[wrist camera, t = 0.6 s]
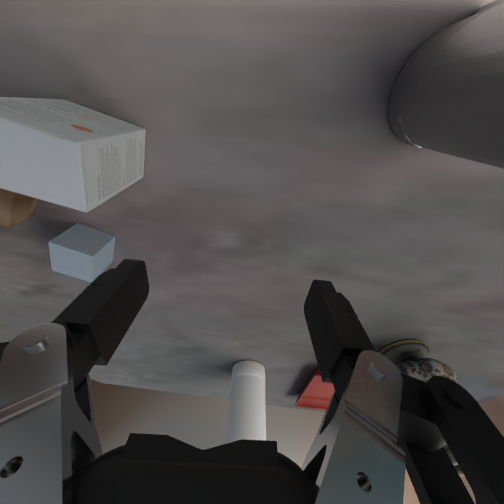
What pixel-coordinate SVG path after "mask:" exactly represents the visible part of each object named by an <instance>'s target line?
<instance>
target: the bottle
mask: <svg viewBox="0 0 504 504" xmlns="http://www.w3.org/2000/svg"><path fill="white" fill-rule="evenodd" d="M265 410H266V408H265V369H264V366H263V365H262V364H260V363H258V362H256V361H251V360H245V361H240V362H237V363H236V364H235V365H234V366H233V370H232V376H231V390H230V400H229V410H228V420H227V431H226V440H225V444H227V443H231V442H234V441H238V440H241V439H246V440H265V441H266V414H265V413H266V411H265Z"/></svg>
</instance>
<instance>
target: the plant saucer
mask: <svg viewBox="0 0 504 504" xmlns="http://www.w3.org/2000/svg"><path fill="white" fill-rule="evenodd" d="M334 391H335V389H334V386H333V383H323V382H322V378H321V374H320V371H319V368H317V370H316V371H315V373H314V374H313V376H312V377H311V379H310V380H309V382H308V383H307V384H306V386H305V387H304V389H303V390H302V392H301V393H300V395H299V397H298V399H297V401H296V403H295V406H296V407H304V408H313V409H322V410H327V407H328V405H329V402H330V400H331V397H332V394H333V393H334Z"/></svg>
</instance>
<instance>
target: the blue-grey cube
mask: <svg viewBox="0 0 504 504" xmlns="http://www.w3.org/2000/svg"><path fill="white" fill-rule="evenodd" d="M48 243H49V251H50V259H51V267H52V271H55V272H59V273H62V274H65V275H68V276H72V277H75V278H78V279H82V280H85V281H88V282H91V283H92V282H93V281H94V280H95V279H96V278H97V277H98V276H99V275H100V274H101V273H102V272H103V271H104V270H105V269H106V268H107V267H108V266H109V265H110V264H111V263H112V261H113V254H114V243H115V236H112V235H110V234H107V233H104V232H101V231H98V230H96V229H93V228H90V227H87V226H84V225H82V224H79V223H77V224H75V225H74V226H72V227H71V228H69V229H67V230H66V231H64V232H63V233H61V234H60V235H58V236H57V237H55V238H54V239H52V240H50V241H49V242H48Z"/></svg>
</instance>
